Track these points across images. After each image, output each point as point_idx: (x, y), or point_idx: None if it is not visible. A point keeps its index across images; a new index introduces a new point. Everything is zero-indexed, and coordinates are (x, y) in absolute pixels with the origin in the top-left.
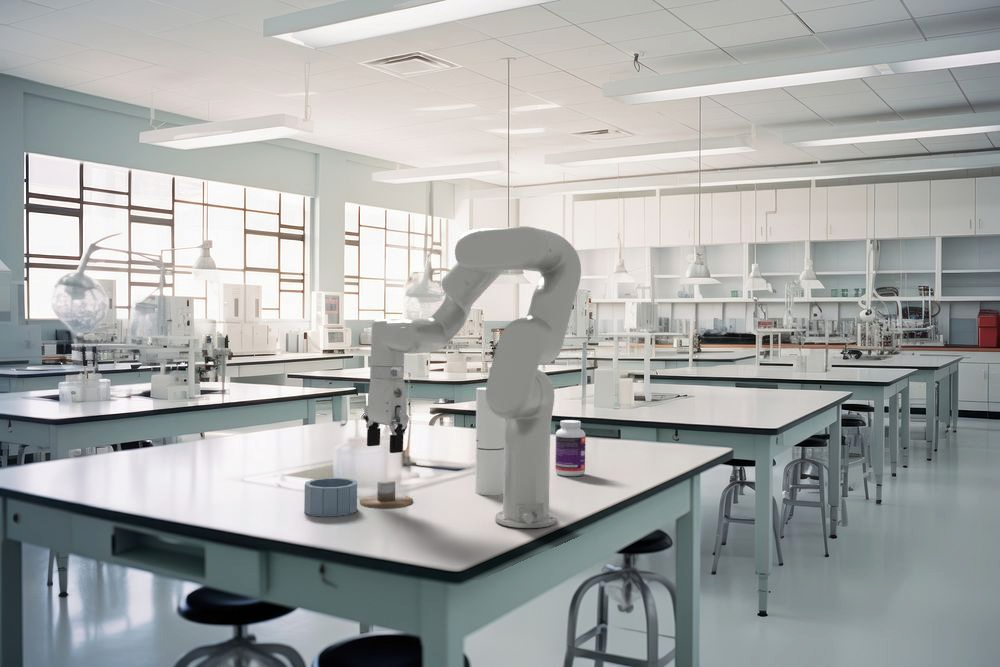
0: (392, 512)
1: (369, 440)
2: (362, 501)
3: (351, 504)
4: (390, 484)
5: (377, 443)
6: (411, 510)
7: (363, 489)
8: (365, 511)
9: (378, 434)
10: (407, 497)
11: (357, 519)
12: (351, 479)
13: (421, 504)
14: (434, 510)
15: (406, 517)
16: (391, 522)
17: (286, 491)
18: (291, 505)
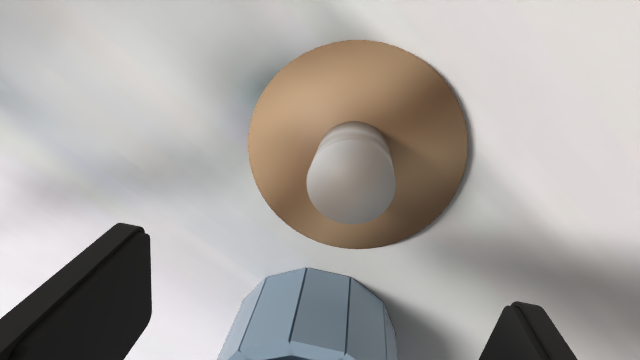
0: (489, 246)
1: (125, 354)
2: (308, 228)
3: (395, 351)
4: (392, 196)
5: (141, 262)
6: (532, 186)
7: (97, 53)
8: (402, 285)
9: (79, 318)
10: (387, 58)
11: (455, 354)
12: (302, 345)
13: (504, 84)
14: (624, 127)
15: (580, 265)
16: (573, 329)
17: (3, 255)
18: (186, 348)
